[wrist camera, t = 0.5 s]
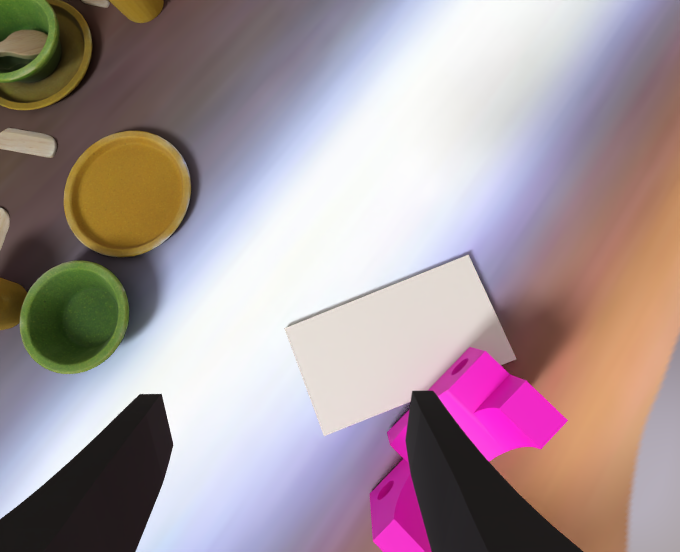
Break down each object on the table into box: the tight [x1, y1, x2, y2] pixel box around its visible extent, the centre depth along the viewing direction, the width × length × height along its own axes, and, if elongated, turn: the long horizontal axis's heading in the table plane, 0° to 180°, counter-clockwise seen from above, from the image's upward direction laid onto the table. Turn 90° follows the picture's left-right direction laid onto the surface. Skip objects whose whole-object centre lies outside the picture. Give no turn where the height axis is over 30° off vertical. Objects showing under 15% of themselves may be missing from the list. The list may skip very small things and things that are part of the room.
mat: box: [285, 255, 516, 436], centre depth 37 cm, size 10×18×1 cm, turn 112°
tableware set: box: [0, 0, 191, 374], centre depth 39 cm, size 41×28×6 cm
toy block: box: [370, 347, 568, 552], centre depth 32 cm, size 15×6×8 cm, turn 135°
